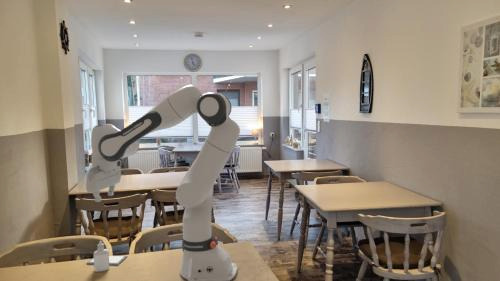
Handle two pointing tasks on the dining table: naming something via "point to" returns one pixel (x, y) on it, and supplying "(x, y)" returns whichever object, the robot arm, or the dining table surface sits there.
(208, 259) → the robot arm
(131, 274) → the dining table surface
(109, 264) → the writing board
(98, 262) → the eye dropper bottle
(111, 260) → the paper
